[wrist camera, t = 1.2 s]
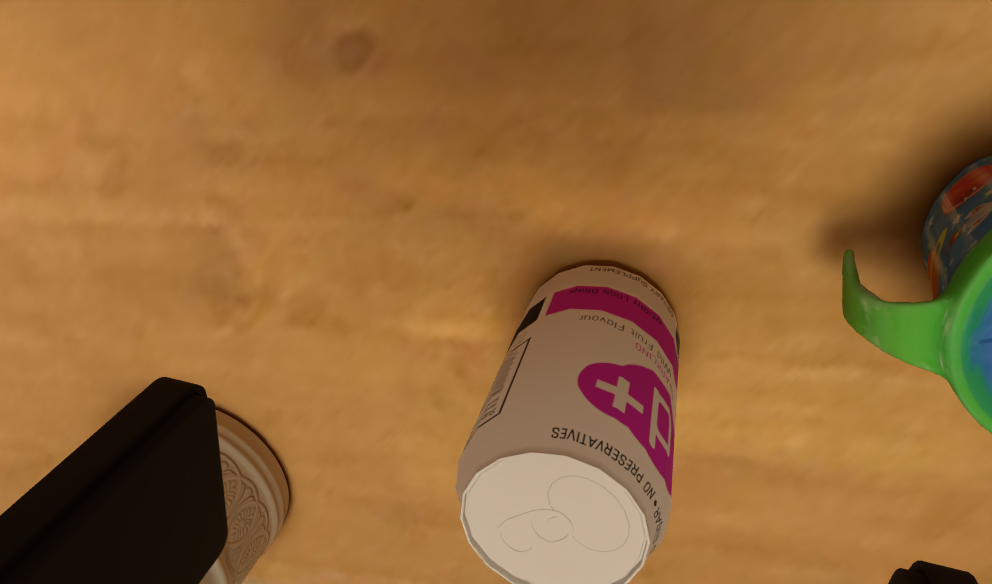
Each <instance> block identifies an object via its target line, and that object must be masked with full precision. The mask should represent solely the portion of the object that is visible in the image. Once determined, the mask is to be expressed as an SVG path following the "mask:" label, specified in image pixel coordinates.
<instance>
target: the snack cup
mask: <svg viewBox="0 0 992 584" xmlns="http://www.w3.org/2000/svg"><path fill="white" fill-rule="evenodd" d="M922 251H923V259H924V261H925V268H926V269H927V273H928V279H929V283H930V287H931V291H932V295H933V299H934V300H932V301H926V302H916V303H910V302H886V301H884V300H881V299H880V298H879V297H877V296H876V295H875V294H874V293H872V292H871V291H869V290H868V289H866V288H865V287H864V286H863V285H861V284H860V280H859V276H858V272H857V268H856V264H855V260H854V252H853V251H852V250H850V249H849V250H846V251H845V252H844V257H843V269H842V276H843V288H842V293H843V298H842V304H843V314H844V318H845V319H846V321H847V322H848V323H849V324H850V325H851V326H852V327H853V328H854V330H855V331H856V332H858V333H859V334H860V335H861V336H863V337H864V338H865V339H867V340H868V341H869V342H870V343H872V344H874V345H875V346H876V347H878V348H879V349H880V350H882V351H884V352H886V353H887V354H889V355H891V356H893V357H895V358H898V359H900V360H902V361H904V362H906V363H908V364H911V365H914V366H917V367H920V368H922V369H925V370H928V371H931V372H933V373H935V374H938V375H940V376H942V377H944V378H945V379H946V380H947V381H948V382H949V384H950V385H951V387H952V389H953V390H954V392H955V394H956V395H957V397H958V398H959V400H960V401H961V403H962V404H963V406H964V407H965V408H966V409H967V411H968V412H969V413H970V414H971V415H972V417H973V418H974V419H975V420H976V421H977V422H978V423H979V424H980V425H981V426H983V427H984V428H985V429H986V430H988V431H989V432H990V433H992V156H990V157H984V158H980V159H978V160H977V161H975V162H973V163H972V164H970V165H968V166H966V167H965V168H964V169H963V170H962V171H961V172H960V173H959V174H958V175H957V176H956V177H955V178H954V179H953V180H952V181H951V182H950V183H949V184H948V185H947V186H946V188H945V189H944V190H943V191H942V192H941V194H940V195H939V196H938V198H937V199H936V201H935V202H934V204H933V205H932V207H931V209H930V212H929V214H928V216H927V219H926V221H925V224H924V228H923V230H922Z"/></svg>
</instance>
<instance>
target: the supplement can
mask: <svg viewBox="0 0 992 584" xmlns="http://www.w3.org/2000/svg"><path fill="white" fill-rule="evenodd" d="M679 344H680V339H679V333H678V327H677V321H676V316H675V314H674V312H673V311H672V309H671V307H670V306H669V304H668V303H667V301H666V299H665V298H664V296H663V294H662V293H661V292H659V291H658V290H657V289H656V288H654V287H653V286H652V285H651V284H649V283H648V282H647V281H646V280H644V279H643V278H642V277H641V276H638V275H636V274H633V273H630V272H627V271H625V270H622V269H619V268H616V267H614V266H591V265H584V266H581V267H577V268H574V269H571V270H567V271H564V272H561V273H558V274H557V275H555V276H554V277H553V278H552V279H550V280H549V281H548V282H546V283H545V284H544V285H542V286H541V287H540V288H539V289H538V290H537V292H536V294H535V295H534V297H533V299H532V300H531V302H530V304H529V305H528V307H527V309H526V311H525V313H524V315H523V318H522V320H521V322H520V324H519V327H518V329H517V331H516V333H515V336H514V338H513V340H512V342H511V345H510V347H509V349H508V351H507V354H506V356H505V358H504V360H503V363H502V365H501V367H500V369H499V372H498V374H497V376H496V378H495V381H494V383H493V385H492V387H491V390H490V392H489V394H488V396H487V399H486V401H485V403H484V405H483V408H482V410H481V412H480V414H479V417H478V419H477V421H476V423H475V426H474V428H473V430H472V432H471V435H470V437H469V439H468V441H467V444H466V446H465V448H464V450H463V453H462V455H461V457H460V459H459V463H458V474H457V484H456V490H457V494H458V498H459V501H460V505H461V516H460V519H461V522H462V525H463V528H464V531H465V534H466V537H467V540H468V542H469V544H470V545H471V546H472V548H473V549H474V550H475V551H476V553H477V554H478V555H479V557H480V558H481V559H482V560H483V562H484V563H485V564H486V565H487V566H488V567H490V568H491V569H492V570H494V571H495V572H497V573H498V574H499V575H501V576H502V577H503V578H505V579H506V580H508V581H509V582H510V583H512V584H627V583H628V582H629V581H630V580H631V579H632V578H633V577H634V576H635V575H636V574H637V573H638V571H639V570H640V569H641V568H642V567H643V566H644V563H645V560H646V558H647V557H648V556H649V555H650V554H651V553H652V552H653V551H654V550H655V549H656V548H657V546H658V545H659V544H660V543H661V542H662V540H663V537H664V533H665V530H666V526H667V523H668V519H669V516H670V507H671V489H672V470H673V452H674V434H675V416H676V398H677V380H678V362H679Z"/></svg>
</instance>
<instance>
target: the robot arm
mask: <svg viewBox="0 0 992 584" xmlns="http://www.w3.org/2000/svg"><path fill="white" fill-rule="evenodd" d="M227 535H228V525H227V515H226V506H225V496H224V486H223V477H222V467H221V458H220V448H219V438H218V429H217V419H216V410H215V404H214V401H213V400H212V399H210V398H207V394H206V391H205V389H204V388H203V387H202V386H200V385H197V384H193V383H189V382H185V381H180V380H176V379H172V378H168V377H161V378H159V379H157V380H155V381H154V382H153V383H152V384H150V385H149V386H148V387H147V388H146V389H145V390H144V391H142V392H141V393H140V394H139V395H138V396H137V397H136V398H134V399H133V400H132V401H131V402H130V403H129V404H127V405H126V406H125V407H124V408H123V409H122V410H121V411H119V412H118V413H117V414H116V415H115V416H114V417H113V418H111V419H110V420H109V421H108V422H107V423H106V424H105V425H103V426H102V427H101V428H100V429H99V430H98V431H97V432H95V433H94V434H93V435H92V436H91V437H90V438H89V439H87V440H86V441H85V442H84V443H83V444H82V445H81V446H79V447H78V448H77V449H76V450H75V451H74V452H73V453H71V454H70V455H69V456H68V457H67V458H66V459H65V460H63V461H62V462H61V463H60V464H59V465H58V466H57V467H55V468H54V469H53V470H52V471H51V472H50V473H48V474H47V475H46V476H45V477H44V478H43V479H42V480H40V481H39V482H38V483H37V484H36V485H35V486H34V487H32V488H31V489H30V490H29V491H28V492H27V493H26V494H24V495H23V496H22V497H21V498H20V499H19V500H18V501H16V502H15V503H14V504H13V505H12V506H11V507H10V508H8V509H7V510H6V511H5V512H4V513H3V514H2V515H0V584H199V583H200V582H201V580H202V579H203V578H204V576H205V575H206V574H207V572H208V571H209V569H210V568H211V567H212V565H213V564H214V563H215V561H216V560H217V559H218V557H219V556H220V554H221V552H222V551H223V548H224V546H225V543H226V540H227ZM888 584H978V583H977V581H976V579H975V577H974V576H973V575H971V574H970V573H969V572H965V571H961V570H957V569H953V568H949V567H945V566H941V565H937V564H932V563H928V562H924V561H916V562H915V563H913V564H912V566H911V567H910V568H909V570H907V569H902V568H899V569H897V570H896V571H895V572H894V574H893V575H892V577H891V579H890V581H889V583H888Z"/></svg>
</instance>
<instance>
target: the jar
mask: <svg viewBox="0 0 992 584" xmlns="http://www.w3.org/2000/svg"><path fill="white" fill-rule="evenodd" d="M216 419H217V429H218V438H219V448H220V458H221V467H222V477H223V486H224V496H225V506H226V515H227V525H228V535H227V540H226V543H225V546H224V548H223V551H222V552H221V554H220V556H219V557H218V559H217V560H216V561H215V563H214V564H213V565H212V567H211V568H210V569H209V571H208V572H207V574H206V575H205V576H204V578H203V579H202V580H201V582H200V583H199V584H242V582H243V581H244V579H245V578H246V576H247V575H248V573H249V572H250V570H251V569H252V568H253V566H254V565H255V563H256V562H257V560H258V559H259V557H260V556H262V555H263V554H264V553H265V552H266V551H267V550H268V549H269V548H270V546H271V545H272V543H273V541H274V540H275V539H276V537H277V536H278V534H279V532H280V530H281V527H282V524H283V520H284V518H285V516H286V514H287V511H288V506H289V491H288V486H287V482H286V479H285V476H284V473H283V471H282V469H281V467H280V465H279V463H278V461H277V460H276V458H275V457H274V455H273V454H272V453H271V451H270V450H269V449H268V447H267V446H266V445H265V444H264V443H263V442H262V441H261V440H260V439H259V438H258V437H257V436H256V435H255V434H254V433H253V432H252V431H250V430H249V429H248V428H247V427H245V426H244V425H243V424H241V423H240V422H238V421H237V420H235V419H233V418H232V417H230V416H228V415H226V414H224V413H222V412H220V411H218V410H216Z"/></svg>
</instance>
